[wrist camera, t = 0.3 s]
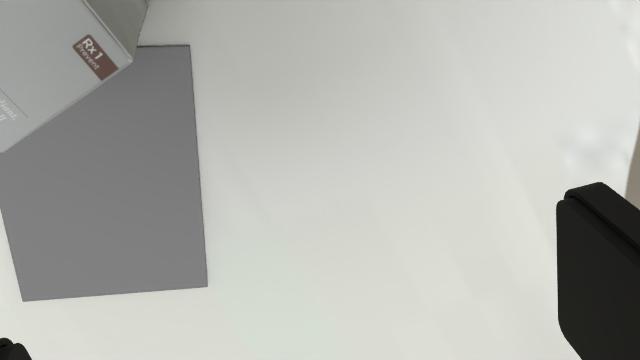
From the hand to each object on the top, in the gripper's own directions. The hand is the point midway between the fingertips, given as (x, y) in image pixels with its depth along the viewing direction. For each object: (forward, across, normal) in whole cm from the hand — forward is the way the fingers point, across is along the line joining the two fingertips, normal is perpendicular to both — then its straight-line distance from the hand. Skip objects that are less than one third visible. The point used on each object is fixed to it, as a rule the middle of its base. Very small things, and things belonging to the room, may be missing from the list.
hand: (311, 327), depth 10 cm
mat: (+30, +12, +9) cm, 34 cm away
